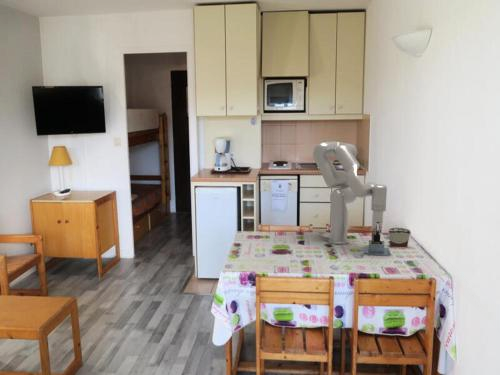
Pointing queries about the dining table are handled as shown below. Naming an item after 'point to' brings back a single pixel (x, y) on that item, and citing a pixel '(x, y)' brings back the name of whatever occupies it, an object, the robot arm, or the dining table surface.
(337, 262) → the dining table surface
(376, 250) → the cup bracket
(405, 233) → the food container
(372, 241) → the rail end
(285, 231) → the dining table surface
